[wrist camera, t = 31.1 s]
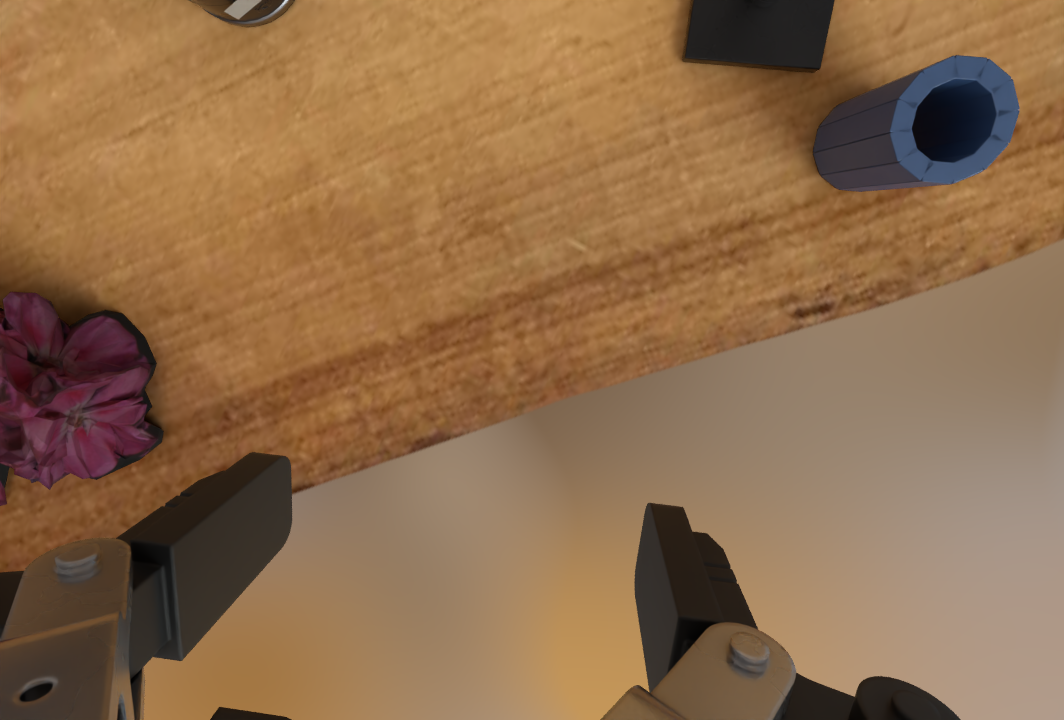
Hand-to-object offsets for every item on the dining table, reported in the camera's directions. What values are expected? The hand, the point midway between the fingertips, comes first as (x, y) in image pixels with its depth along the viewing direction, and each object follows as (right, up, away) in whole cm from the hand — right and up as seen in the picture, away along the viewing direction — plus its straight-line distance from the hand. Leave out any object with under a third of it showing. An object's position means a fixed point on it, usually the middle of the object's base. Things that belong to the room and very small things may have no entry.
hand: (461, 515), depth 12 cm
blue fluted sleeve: (+25, +19, +26) cm, 41 cm away
